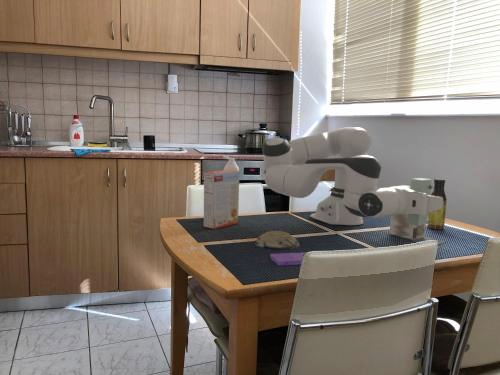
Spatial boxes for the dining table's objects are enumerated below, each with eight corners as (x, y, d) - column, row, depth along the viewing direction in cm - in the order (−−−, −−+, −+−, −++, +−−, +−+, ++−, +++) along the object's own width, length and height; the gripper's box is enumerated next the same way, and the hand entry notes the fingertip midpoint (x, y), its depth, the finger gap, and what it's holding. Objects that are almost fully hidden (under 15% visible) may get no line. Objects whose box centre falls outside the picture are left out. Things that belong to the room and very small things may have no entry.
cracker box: (227, 221, 171) (228, 169, 168) (238, 223, 167) (240, 170, 164) (202, 226, 160) (203, 171, 157) (213, 229, 157) (215, 173, 154)
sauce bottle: (445, 230, 169) (450, 180, 166) (428, 229, 170) (433, 179, 167) (441, 227, 175) (446, 178, 172) (425, 225, 176) (430, 177, 173)
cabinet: (385, 235, 158) (389, 186, 156) (399, 231, 165) (404, 185, 162) (432, 246, 145) (437, 194, 142) (446, 242, 151) (451, 191, 149)
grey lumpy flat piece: (245, 242, 144) (273, 253, 132) (245, 231, 143) (274, 241, 131) (279, 237, 152) (309, 247, 140) (280, 226, 152) (309, 236, 140)
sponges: (319, 265, 123) (319, 258, 123) (277, 267, 119) (277, 260, 119) (309, 257, 130) (309, 251, 129) (269, 259, 126) (269, 253, 126)
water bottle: (240, 217, 178) (242, 157, 175) (227, 219, 175) (229, 158, 171) (229, 213, 185) (230, 156, 182) (216, 215, 181) (217, 156, 178)
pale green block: (406, 223, 143) (410, 178, 141) (416, 221, 147) (420, 177, 144) (420, 226, 139) (425, 180, 137) (430, 224, 143) (434, 179, 141)
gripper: (369, 204, 142) (392, 201, 151) (428, 216, 126) (450, 211, 135) (370, 185, 141) (393, 183, 150) (430, 195, 126) (452, 191, 134)
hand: (421, 196), depth 142 cm, fingers closed on pale green block, 4 cm apart
